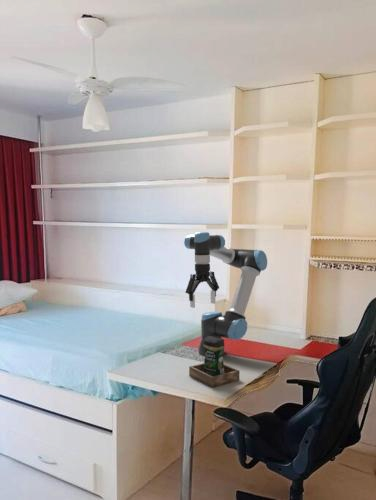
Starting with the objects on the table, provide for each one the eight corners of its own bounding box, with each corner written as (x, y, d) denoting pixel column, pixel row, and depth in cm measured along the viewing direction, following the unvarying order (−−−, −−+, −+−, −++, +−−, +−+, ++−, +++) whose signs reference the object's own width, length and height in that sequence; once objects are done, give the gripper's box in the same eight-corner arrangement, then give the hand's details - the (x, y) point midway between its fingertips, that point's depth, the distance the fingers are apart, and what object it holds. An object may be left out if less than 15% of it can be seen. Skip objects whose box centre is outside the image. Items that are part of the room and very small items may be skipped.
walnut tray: (215, 369, 204) (215, 360, 204) (239, 380, 190) (239, 370, 189) (189, 375, 195) (189, 366, 195) (212, 387, 180) (212, 377, 180)
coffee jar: (200, 375, 192) (200, 337, 191) (210, 371, 198) (211, 333, 197) (216, 380, 186) (217, 340, 185) (226, 376, 192) (227, 337, 191)
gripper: (215, 260, 212) (216, 300, 214) (177, 264, 197) (178, 307, 198) (225, 261, 207) (226, 302, 208) (187, 266, 191) (188, 310, 193)
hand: (203, 305), depth 203 cm, fingers open, 13 cm apart
